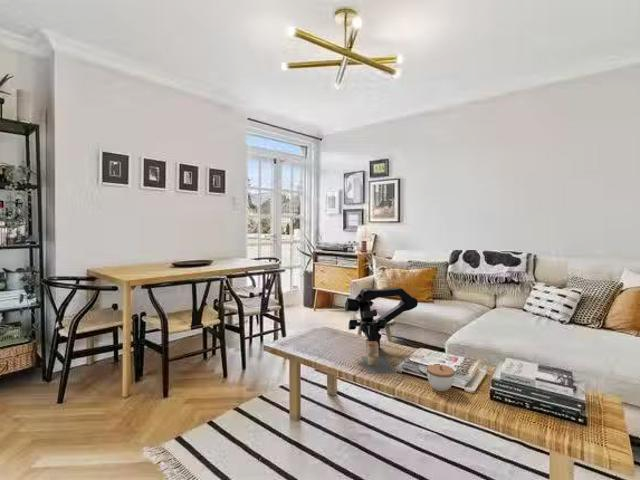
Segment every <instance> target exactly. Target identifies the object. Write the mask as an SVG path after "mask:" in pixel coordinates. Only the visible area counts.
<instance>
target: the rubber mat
mask: <svg viewBox="0 0 640 480" xmlns="http://www.w3.org/2000/svg"><path fill="white" fill-rule="evenodd" d="M360 358H361V360H362V362H363V364H364V366H365V369H366V371H367V373H368V374H370V375H371V374H395V373H396V371H395V370H394V368H393V367H392V366H391V364H390V362H389V361H388V359H387V357H386V356H385V355H378V365H368V363H367V355H361V356H360Z"/></svg>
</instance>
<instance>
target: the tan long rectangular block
mask: <svg viewBox="0 0 640 480" xmlns="http://www.w3.org/2000/svg"><path fill="white" fill-rule="evenodd" d="M366 356H367V363H368V365H378V356H379V350H378V343H377V341H367V347H366Z"/></svg>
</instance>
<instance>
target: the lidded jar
mask: <svg viewBox="0 0 640 480" xmlns="http://www.w3.org/2000/svg"><path fill="white" fill-rule="evenodd" d="M455 373H456V372H455V369H454V368H452V367H450V366H449V365H445V364H442V365H440V364H434V365H430V366H428V367H427V375H426V376H427V380H428V382H429V385H430V386H431V387H432V388H433V390H435V391H438V392H446V391H449V389H450V388H451V387H452V386H453V384H454V381H455Z"/></svg>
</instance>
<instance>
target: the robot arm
mask: <svg viewBox="0 0 640 480" xmlns="http://www.w3.org/2000/svg"><path fill="white" fill-rule="evenodd" d="M387 297H390V298H391V297H399V298H400V301H399V302H398V304H397V305H396V306H394V307H393V308H391V309H389V310H388V311H386V312H385V313H383V314H382V315H381V316H379V317H378V318H375V319H374V317H377V316H378V311H377V309H371V307H372V306H373V305H374V301H373V300H377V299H379V298H387ZM418 302H419V301H418V299H417V298H416V297H414V296H412V295H411V294H409V293H407V292H406V291H405V289H404V288H402V287H398V286H397V287H391V288H380V289H375V288H369V287H368V288H367V287H364V288H363V287H362V289H360V291H359V293H358V294H357V296H355V298H351V297H347V298H346V301H345V303H344V310H345V311H346V312H354V313H357V312H358V311H359V314H360V321H358V320H357V319H349V321H348V330H350V331H351V330H356V329H357V327H360V328H359V330H360V331H361V332H363V334H364V335H365V337H366V339H365V340H366V341H365V347H366V348H367V341H377V343H378V351H379V350H380V351H381V339H382V334H381V333H380V331H381V330H382V329H383V330H384V329H386V327H387V324H388V323H389V322H392V320H394V319H395V318H397V317H398V316H400V315H401V314H402V313H404V312H407V311H411V310H413V309H415V308H417V307H418V304H419V303H418Z"/></svg>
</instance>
